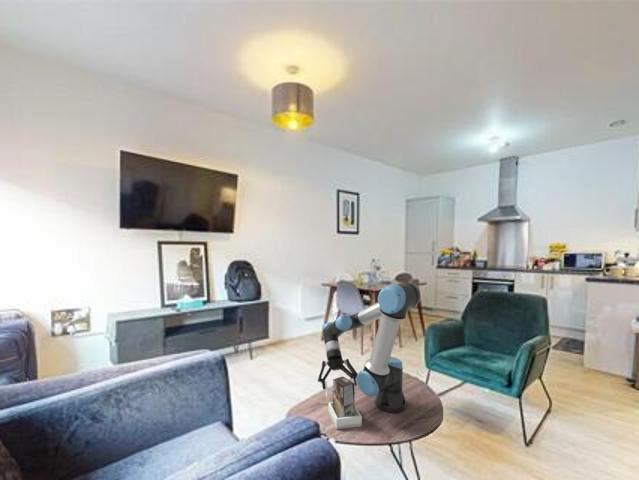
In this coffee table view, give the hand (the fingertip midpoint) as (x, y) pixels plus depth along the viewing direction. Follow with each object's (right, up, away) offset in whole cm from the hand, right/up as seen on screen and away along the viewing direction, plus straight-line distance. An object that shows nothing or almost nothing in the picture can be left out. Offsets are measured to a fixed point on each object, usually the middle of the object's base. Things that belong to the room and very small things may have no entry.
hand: (341, 394), depth 151 cm
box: (+1, -9, -3) cm, 10 cm away
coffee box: (+1, -8, -3) cm, 9 cm away
